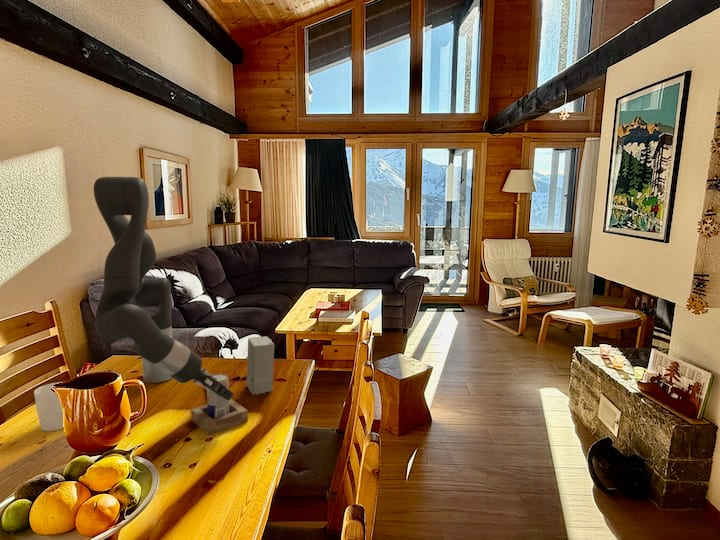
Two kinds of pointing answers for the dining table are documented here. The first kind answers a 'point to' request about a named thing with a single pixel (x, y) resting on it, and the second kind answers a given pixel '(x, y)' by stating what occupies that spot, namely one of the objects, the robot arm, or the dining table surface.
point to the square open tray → (219, 418)
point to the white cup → (48, 408)
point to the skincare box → (260, 365)
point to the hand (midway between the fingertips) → (222, 391)
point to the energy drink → (218, 399)
